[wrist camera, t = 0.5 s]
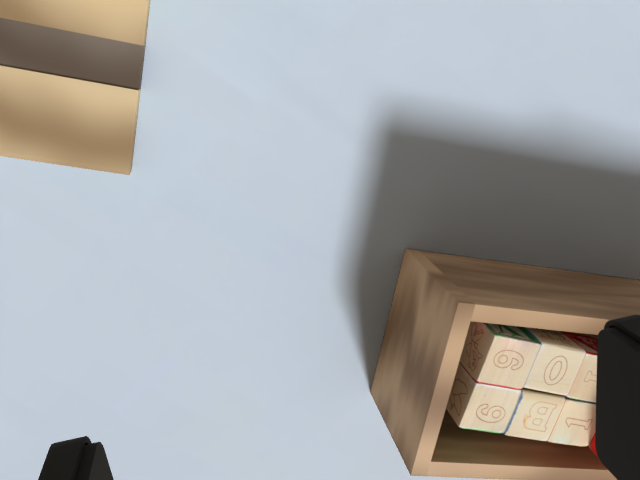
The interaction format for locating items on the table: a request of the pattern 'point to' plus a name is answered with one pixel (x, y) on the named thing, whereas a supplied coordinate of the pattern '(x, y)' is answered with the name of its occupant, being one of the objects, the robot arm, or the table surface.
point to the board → (71, 81)
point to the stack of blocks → (527, 384)
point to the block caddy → (446, 347)
